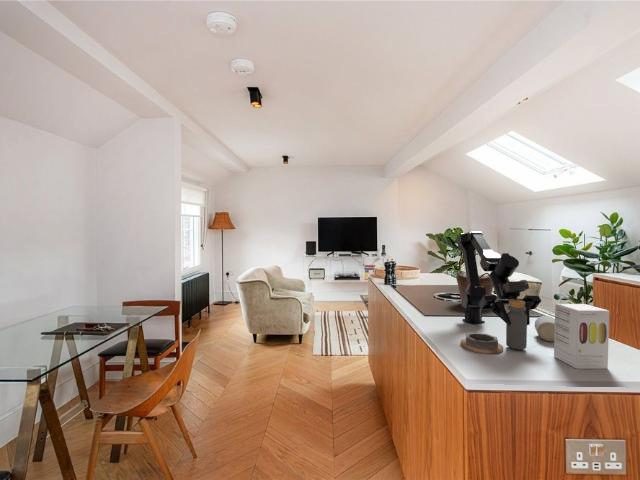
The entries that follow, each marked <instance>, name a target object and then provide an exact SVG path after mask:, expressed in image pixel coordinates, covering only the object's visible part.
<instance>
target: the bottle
mask: <svg viewBox="0 0 640 480" xmlns="http://www.w3.org/2000/svg"><path fill="white" fill-rule="evenodd" d="M524 306H525V302H524V301H520V300H509V305H507V310H509V311H508V312H507V315H508V317H509V319H510V322H511V324H510V325H508V324H507V323H505V324H506V325H505V326H506V327H505V329H506V331H505V336H506V338H505V341H506V342H505V345H506V346H507V347H510V348H512V349H517V350H525V349H527V341H528V340H527V339H528V335H527V334H528V325H527V315H526V314H524V311H526V308H525V307H524Z"/></svg>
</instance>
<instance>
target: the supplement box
mask: <svg viewBox="0 0 640 480" xmlns="http://www.w3.org/2000/svg"><path fill="white" fill-rule="evenodd" d="M554 305H555V306H554V307H555V308H554V319H555V337H554V341H553V343H554V346H553V357H555V358H556V359H558V360H560V361H561V362H563V363H565V364H567V365H569V366H571V367H573V368H574V369H579V370H580V369H583V370H584V369H585V370H587V369H588V370H589V369H592V370H593V369H594V370H595V369H597V370H599V369H600V370H601V369H602V370H605V369H608V366H609V364H608V363H609V362H608V361H609V339H610V338H609V337H610V336H609V334H610V310H608V309H604V308H603V307H602V308H601V307H597V306H593V305H590V304H586V303H555V304H554Z"/></svg>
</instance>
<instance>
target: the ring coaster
mask: <svg viewBox="0 0 640 480" xmlns="http://www.w3.org/2000/svg"><path fill="white" fill-rule="evenodd" d="M460 346H461V347H462V348H463V349H465V350H466V351H469V352H472V353H473V352H474V353H476V354H484V355H497V354H498V355H499V354H501V353H502V352H504V346H503V345H502V344H500V343H499V341H498V337H497V336H494V335H491V334H488V333H481V332H469V333H466V334H465V338H464V339H461V340H460Z"/></svg>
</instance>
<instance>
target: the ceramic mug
mask: <svg viewBox="0 0 640 480" xmlns="http://www.w3.org/2000/svg"><path fill="white" fill-rule="evenodd" d="M534 329H535V331H536V333H537V335H538V336H539V337H540V339H543V340H544V341H546V342H554V337H555V317H553V316H549V315H541V316H539V317H537V318H536V320H535V321H534Z"/></svg>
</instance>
